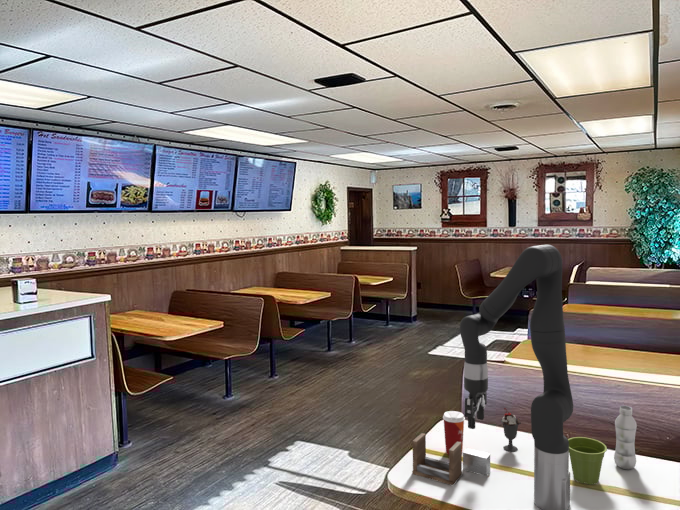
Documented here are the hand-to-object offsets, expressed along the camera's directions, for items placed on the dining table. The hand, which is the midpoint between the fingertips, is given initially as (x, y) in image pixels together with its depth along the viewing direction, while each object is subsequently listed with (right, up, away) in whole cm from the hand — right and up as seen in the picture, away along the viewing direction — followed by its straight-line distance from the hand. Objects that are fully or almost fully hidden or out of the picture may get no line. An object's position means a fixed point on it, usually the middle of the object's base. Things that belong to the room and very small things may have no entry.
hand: (476, 423), depth 170 cm
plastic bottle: (+49, -15, +1) cm, 51 cm away
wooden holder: (-13, -16, 0) cm, 21 cm away
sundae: (+16, -14, +16) cm, 27 cm away
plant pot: (+33, -16, -6) cm, 37 cm away
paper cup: (-4, -15, +14) cm, 21 cm away
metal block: (+1, -16, +1) cm, 16 cm away
